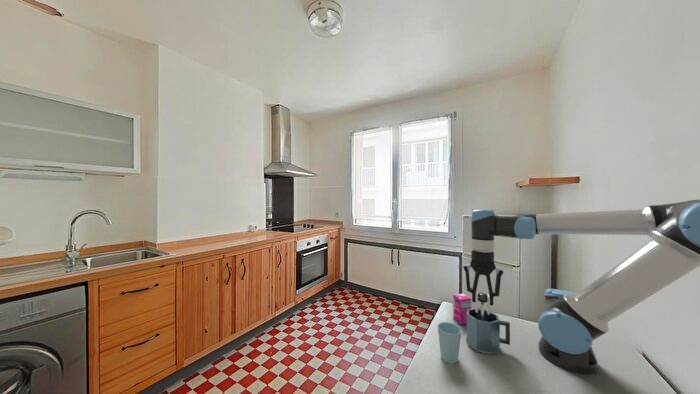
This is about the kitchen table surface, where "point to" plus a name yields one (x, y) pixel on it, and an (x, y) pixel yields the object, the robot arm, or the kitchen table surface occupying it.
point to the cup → (449, 341)
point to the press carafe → (485, 332)
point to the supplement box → (461, 308)
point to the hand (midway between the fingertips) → (482, 311)
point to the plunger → (482, 303)
